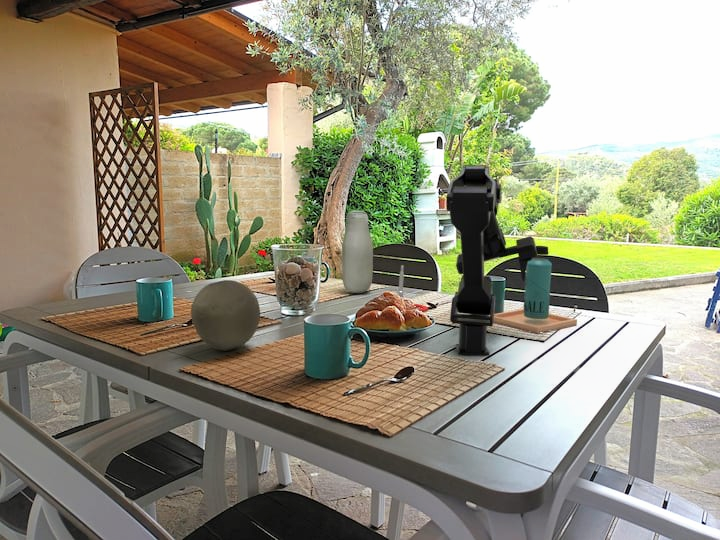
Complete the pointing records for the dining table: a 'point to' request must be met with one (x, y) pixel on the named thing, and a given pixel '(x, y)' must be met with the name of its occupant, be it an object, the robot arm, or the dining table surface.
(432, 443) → the dining table surface
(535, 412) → the dining table surface
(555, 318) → the tray
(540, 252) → the beverage bottle
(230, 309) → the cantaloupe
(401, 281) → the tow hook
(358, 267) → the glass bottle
